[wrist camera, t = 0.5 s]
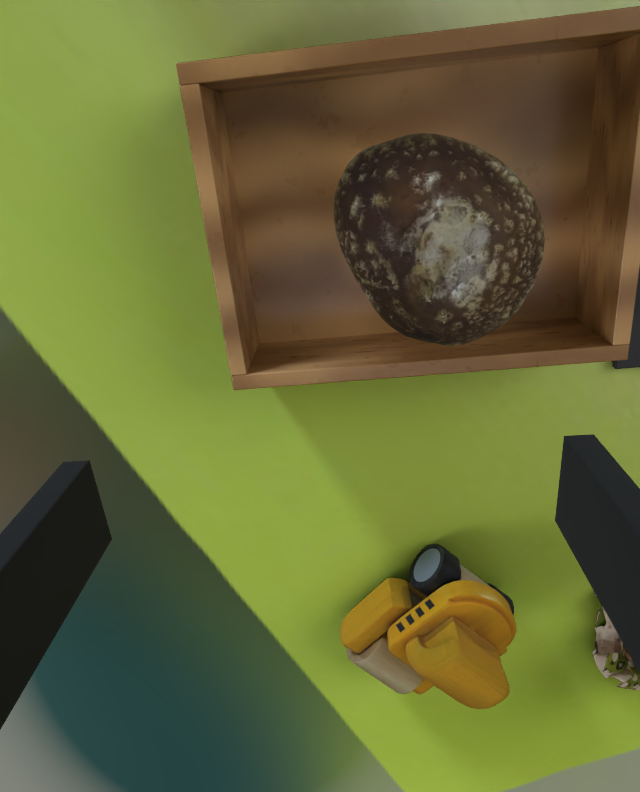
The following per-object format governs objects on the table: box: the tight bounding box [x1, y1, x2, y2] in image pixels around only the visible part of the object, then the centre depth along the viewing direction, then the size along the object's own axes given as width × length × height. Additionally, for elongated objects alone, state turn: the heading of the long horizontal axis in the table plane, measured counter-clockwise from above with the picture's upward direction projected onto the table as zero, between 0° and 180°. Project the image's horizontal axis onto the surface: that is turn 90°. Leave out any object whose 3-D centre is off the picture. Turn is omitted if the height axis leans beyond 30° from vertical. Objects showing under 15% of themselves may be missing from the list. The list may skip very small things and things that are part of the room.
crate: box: [176, 6, 640, 390], centre depth 34 cm, size 18×24×6 cm
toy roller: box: [340, 544, 516, 709], centre depth 45 cm, size 9×14×10 cm, turn 139°
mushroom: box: [333, 133, 545, 346], centre depth 30 cm, size 9×9×15 cm
